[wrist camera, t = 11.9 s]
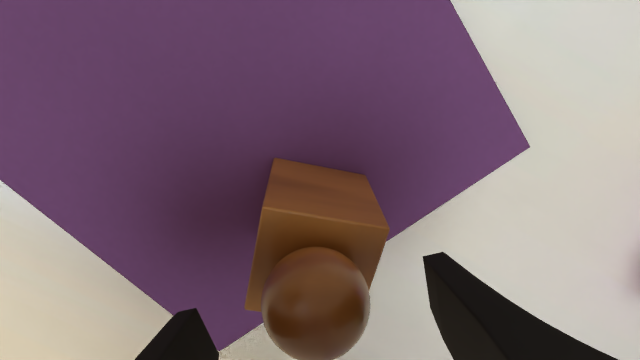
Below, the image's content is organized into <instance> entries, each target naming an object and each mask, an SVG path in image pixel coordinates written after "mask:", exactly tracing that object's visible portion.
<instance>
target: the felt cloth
mask: <svg viewBox="0 0 640 360" xmlns="http://www.w3.org/2000/svg"><path fill="white" fill-rule="evenodd" d="M529 147H530V146H529V144H528V142H527V140H526V138H525V136H524V135H523V133H522V131H521V129H520V127H519V126H518V124H517V122H516V120H515V118H514V116H513V115H512V113H511V111H510V109H509V107H508V105H507V104H506V102H505V100H504V98H503V96H502V94H501V93H500V91H499V89H498V87H497V85H496V84H495V82H494V80H493V78H492V76H491V74H490V73H489V71H488V69H487V67H486V65H485V63H484V62H483V60H482V58H481V56H480V54H479V52H478V51H477V49H476V47H475V45H474V43H473V41H472V40H471V38H470V36H469V34H468V32H467V31H466V29H465V27H464V25H463V23H462V21H461V20H460V18H459V16H458V14H457V12H456V10H455V9H454V7H453V5H452V3H451V1H450V0H0V180H1V181H2V182H4V183H5V184H6V185H7V186H9V187H10V188H11V189H13V190H14V191H15V192H16V193H18V194H19V195H20V196H22V197H23V198H24V199H25V200H27V201H28V202H29V203H30V204H32V205H33V206H34V207H36V208H37V209H38V210H39V211H41V212H42V213H43V214H45V215H46V216H47V217H48V218H50V219H51V220H52V221H53V222H55V223H56V224H57V225H59V226H60V227H61V228H62V229H64V230H65V231H66V232H68V233H69V234H70V235H71V236H73V237H74V238H75V239H76V240H78V241H79V242H80V243H82V244H83V245H84V246H85V247H87V248H88V249H89V250H91V251H92V252H93V253H94V254H96V255H97V256H98V257H99V258H101V259H102V260H103V261H105V262H106V263H107V264H108V265H110V266H111V267H112V268H114V269H115V270H116V271H117V272H119V273H120V274H121V275H122V276H124V277H125V278H126V279H128V280H129V281H130V282H131V283H133V284H134V285H135V286H137V287H138V288H139V289H140V290H142V291H143V292H144V293H145V294H147V295H148V296H149V297H151V298H152V299H153V300H154V301H156V302H157V303H158V304H159V305H161V306H162V307H163V308H165V309H166V310H167V311H168V312H170V313H171V314H172V315H175V314H176V313H177V312H179V311H184V310H188V309H193V308H197V310H198V312H199V314H200V316H201V318H202V320H203V322H204V324H205V326H206V329H207V331H208V333H209V335H210V337H211V339H212V341H213V343H214V345H215V347H216V349H217V350H218V351H220V350H222V349H223V348H225V347H227V346H228V345H230V344H231V343H233V342H234V341H236V340H237V339H239V338H240V337H242V336H243V335H245V334H246V333H248V332H249V331H251V330H252V329H254V328H255V327H257V326H258V325H260V324H261V323H263V318H262V313H261V312H258V311H250V310H245V308H244V306H245V300H246V295H247V289H248V283H249V278H250V272H251V267H252V261H253V255H254V250H255V244H256V238H257V233H258V227H259V221H260V216H261V210H262V205H263V201H264V197H265V193H266V188H267V184H268V180H269V176H270V172H271V167H272V163H273V159H274V158H279V159H284V160H290V161H295V162H300V163H305V164H310V165H316V166H321V167H326V168H331V169H336V170H342V171H347V172H352V173H357V174H362V175H365V176H366V177H367V180H368V182H369V184H370V186H371V188H372V191H373V193H374V195H375V197H376V199H377V201H378V204H379V206H380V208H381V210H382V212H383V215H384V217H385V219H386V221H387V223H388V226H389V228H390V231H389V234H388V237H387V239H386V241H388V240H389V239H391V238H392V237H394V236H395V235H397V234H398V233H400V232H401V231H403V230H404V229H406V228H407V227H409V226H411V225H412V224H414V223H415V222H417V221H418V220H420V219H421V218H423V217H424V216H426V215H427V214H429V213H430V212H432V211H433V210H435V209H436V208H438V207H439V206H441V205H442V204H444V203H446V202H447V201H449V200H450V199H452V198H453V197H455V196H456V195H458V194H459V193H461V192H462V191H464V190H465V189H467V188H468V187H470V186H471V185H473V184H474V183H476V182H477V181H479V180H480V179H482V178H484V177H485V176H487V175H488V174H490V173H491V172H493V171H494V170H496V169H497V168H499V167H500V166H502V165H503V164H505V163H506V162H508V161H509V160H511V159H512V158H514V157H515V156H517V155H519V154H520V153H522V152H523V151H525V150H526V149H528V148H529Z"/></svg>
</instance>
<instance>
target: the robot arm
mask: <svg viewBox="0 0 640 360" xmlns="http://www.w3.org/2000/svg"><path fill="white" fill-rule="evenodd" d="M423 261H424V268H425V274H426V281H427V288H428V295H429V302H430V308H431V310H432V313H433V315H434V318H435V321H436V323H437V326H438V328H439V330H440V333H441V335H442V338H443V340H444V342H445V344H446V346H447V348H448V350H449V351H450V353H451V355H452V357H453V359H454V360H618V359H616V358H614V357H611V356H609V355H607V354H605V353H603V352H601V351H598V350H596V349H594V348H592V347H590V346H588V345H586V344H584V343H582V342H580V341H578V340H576V339H574V338H573V337H571V336H569V335H567V334H565V333H563V332H561V331H560V330H558V329H556V328H554V327H552V326H550V325H549V324H547V323H545V322H543V321H542V320H540V319H538V318H537V317H535V316H533V315H532V314H530V313H529V312H527V311H525V310H524V309H522V308H520V307H519V306H517V305H516V304H514V303H513V302H511V301H510V300H508V299H507V298H505V297H504V296H502V295H501V294H499V293H498V292H496V291H495V290H493V289H492V288H491V287H489V286H488V285H486V284H485V283H483V282H482V281H481V280H479V279H478V278H477V277H475V276H474V275H473V274H471V273H470V272H469V271H467V270H466V269H465V268H463V267H462V266H461V265H459V264H458V263H457V262H456V261H454V260H453V259H452V258H451V257H449V256H448V255H447V254H445V253H444V252H441V253H436V254H432V255H427V256H423ZM218 358H219V353H218V351H217V349H216V347H215V345H214V343H213V341H212V339H211V337H210V335H209V333H208V331H207V329H206V326H205V324H204V322H203V320H202V318H201V316H200V314H199V312H198V310H197V308H193V309H188V310H184V311H179V312H177V313H176V314H175V315H174V316H173V317H172V318H171V319H170V320H169V322H168V323H167V324H166V325H165V326H164V327H163V328H162V329H161V330H160V332H159V333H158V334H157V335H156V336H155V337H154V338H153V339H152V341H151V342H150V343H149V344H148V345H147V346H146V347H145V349H144V350H143V351H142V352H141V353H140V354H139V355H138V356H137V358H136V359H135V360H218Z"/></svg>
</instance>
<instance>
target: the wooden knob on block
mask: <svg viewBox="0 0 640 360" xmlns="http://www.w3.org/2000/svg"><path fill="white" fill-rule="evenodd" d="M389 231H390V228H389V226H388V223H387V221H386V219H385V217H384V215H383V212H382V210H381V208H380V206H379V204H378V201H377V199H376V197H375V195H374V193H373V191H372V188H371V186H370V184H369V182H368V180H367V177H366V176H365V175H362V174H357V173H352V172H347V171H342V170H336V169H331V168H326V167H321V166H316V165H310V164H305V163H300V162H295V161H290V160H284V159H279V158H274V159H273V163H272V167H271V172H270V176H269V180H268V184H267V188H266V193H265V197H264V201H263V205H262V210H261V216H260V221H259V227H258V233H257V238H256V244H255V250H254V255H253V261H252V267H251V272H250V278H249V283H248V289H247V295H246V300H245V306H244V308H245V310H250V311H258V312H261V313H262V318H263V322H264V325H265V328H266V330H267V332H268V334H269V336H270V338H271V339H272V341H273V342H274V343H275V344H276V345H277V346H278V347H279V348H280V349H281V350H282V351H283V352H285V353H286V354H288V355H289V356H291V357H293V358H295V359H297V360H333V359H336V358H338V357H340V356H342V355H344V354H345V353H346V352H348V351H349V350H350V349H351V348H352V347H353V346H354V345H355V344H356V343H357V342H358V340H359V339H360V338H361V336H362V334H363V333H364V330H365V328H366V326H367V323H368V319H369V314H370V295H369V289H370V286H371V283H372V281H373V278H374V275H375V272H376V269H377V266H378V263H379V260H380V257H381V254H382V251H383V248H384V245H385V242H386V239H387V237H388V234H389Z"/></svg>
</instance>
